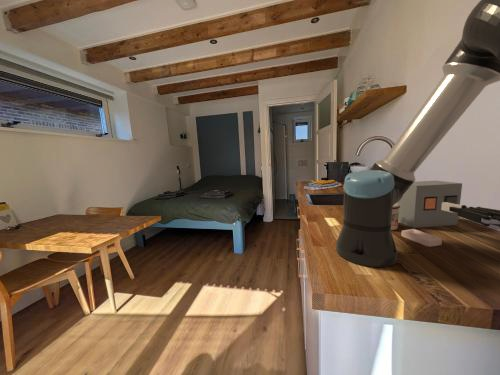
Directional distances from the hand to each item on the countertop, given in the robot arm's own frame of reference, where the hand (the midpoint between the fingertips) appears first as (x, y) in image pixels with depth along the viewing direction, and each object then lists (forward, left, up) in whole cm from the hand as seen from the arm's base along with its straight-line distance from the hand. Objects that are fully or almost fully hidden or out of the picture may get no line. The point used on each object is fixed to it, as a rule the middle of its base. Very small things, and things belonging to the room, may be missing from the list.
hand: (443, 206), depth 70 cm
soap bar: (-13, -5, -10) cm, 17 cm away
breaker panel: (+3, +10, -9) cm, 13 cm away
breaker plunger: (0, +10, -2) cm, 10 cm away
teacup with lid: (-14, +9, -9) cm, 19 cm away
